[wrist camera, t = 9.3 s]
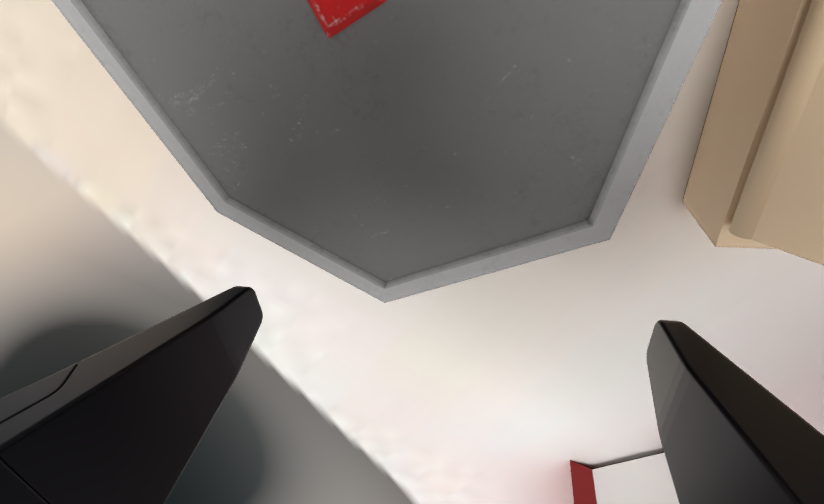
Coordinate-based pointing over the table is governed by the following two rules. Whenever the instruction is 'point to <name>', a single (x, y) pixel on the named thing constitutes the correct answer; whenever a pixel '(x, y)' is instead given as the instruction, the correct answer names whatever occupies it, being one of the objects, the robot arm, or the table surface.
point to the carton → (741, 112)
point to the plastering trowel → (791, 157)
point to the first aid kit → (405, 120)
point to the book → (625, 482)
